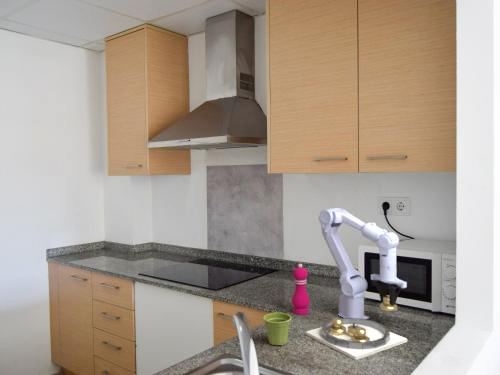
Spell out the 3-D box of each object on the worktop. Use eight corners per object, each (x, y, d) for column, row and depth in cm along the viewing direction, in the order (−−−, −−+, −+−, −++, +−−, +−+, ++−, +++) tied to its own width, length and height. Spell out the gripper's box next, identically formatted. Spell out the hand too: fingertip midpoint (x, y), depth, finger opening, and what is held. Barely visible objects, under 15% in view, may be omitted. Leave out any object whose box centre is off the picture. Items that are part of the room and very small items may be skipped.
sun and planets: (325, 331, 147) (324, 318, 147) (343, 326, 152) (342, 313, 151) (360, 348, 133) (360, 334, 133) (379, 341, 137) (379, 328, 137)
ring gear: (308, 331, 147) (308, 326, 147) (354, 318, 159) (354, 313, 158) (355, 355, 128) (355, 348, 128) (403, 338, 139) (403, 332, 139)
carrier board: (305, 334, 147) (305, 331, 147) (354, 320, 160) (354, 317, 160) (355, 360, 127) (355, 356, 127) (407, 341, 139) (407, 338, 139)
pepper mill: (290, 314, 168) (289, 265, 167) (294, 308, 175) (293, 261, 174) (307, 316, 166) (307, 266, 165) (311, 310, 172) (310, 262, 171)
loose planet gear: (376, 308, 153) (376, 296, 153) (387, 305, 156) (387, 293, 156) (389, 312, 148) (389, 300, 148) (400, 309, 151) (400, 297, 151)
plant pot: (271, 350, 135) (271, 324, 134) (259, 339, 143) (258, 315, 143) (296, 345, 138) (296, 319, 138) (283, 335, 147) (283, 310, 147)
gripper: (412, 268, 147) (412, 306, 148) (379, 261, 159) (379, 296, 160) (399, 271, 143) (399, 310, 144) (366, 263, 156) (367, 299, 156)
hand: (388, 303), depth 152 cm, fingers closed on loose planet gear, 4 cm apart
